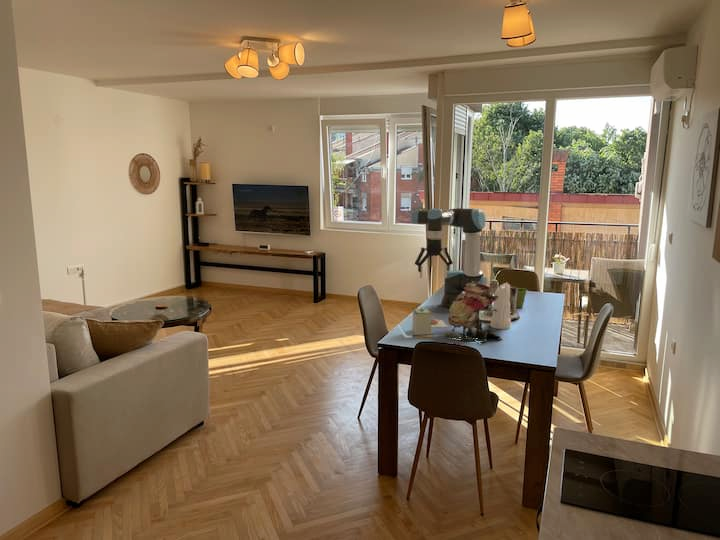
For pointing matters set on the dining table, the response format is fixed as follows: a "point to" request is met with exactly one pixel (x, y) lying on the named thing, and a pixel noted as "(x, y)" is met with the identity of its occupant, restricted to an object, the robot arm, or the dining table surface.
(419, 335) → the tan mat
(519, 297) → the plant pot
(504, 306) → the decorative vase
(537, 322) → the dining table surface
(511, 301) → the coffee box
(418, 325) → the sage cover
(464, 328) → the rose bouquet
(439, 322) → the cream plate
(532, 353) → the dining table surface
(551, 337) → the dining table surface
